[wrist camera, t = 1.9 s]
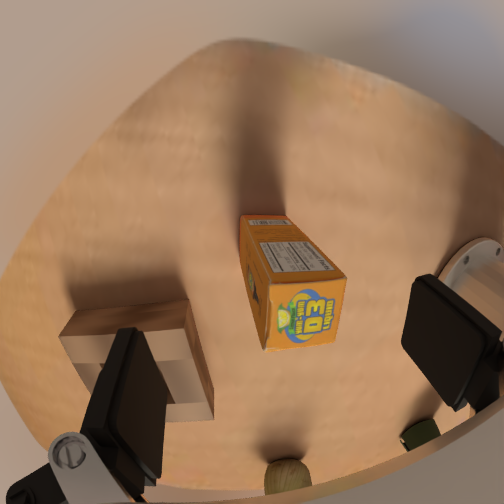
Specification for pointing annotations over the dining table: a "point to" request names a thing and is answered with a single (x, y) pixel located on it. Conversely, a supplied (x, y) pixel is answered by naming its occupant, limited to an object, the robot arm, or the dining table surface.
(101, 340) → the square wooden frame
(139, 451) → the robot arm
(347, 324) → the dining table surface
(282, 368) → the dining table surface
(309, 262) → the supplement box
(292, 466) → the fennel bulb
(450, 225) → the dining table surface
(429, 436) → the character mug
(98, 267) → the dining table surface
